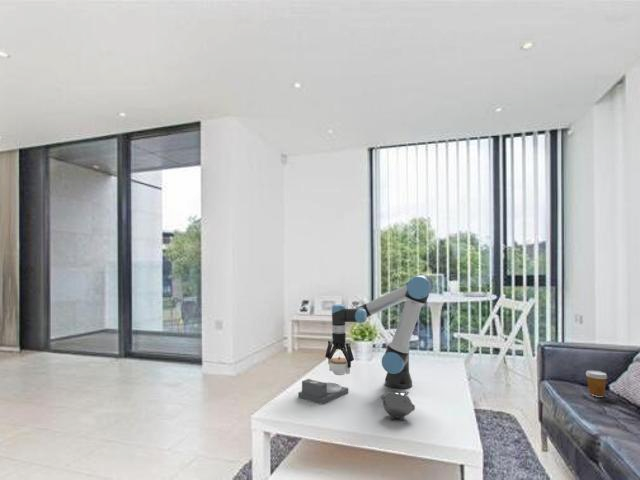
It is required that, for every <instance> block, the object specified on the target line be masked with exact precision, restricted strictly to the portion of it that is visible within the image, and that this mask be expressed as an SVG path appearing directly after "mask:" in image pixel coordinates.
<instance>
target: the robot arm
mask: <svg viewBox="0 0 640 480" xmlns="http://www.w3.org/2000/svg"><path fill="white" fill-rule="evenodd" d="M404 284H405V285H403V286H401V287H399V288H396V289H394V290H392V291H390V292H388V293H385V294H384V295H382V296H379V297H377V298H375V299H372V300H371V301H369V302H366V303H365V304H362V305H359V306H358V307H355V308H346V305H345V304H334V305H332V306H331V324H332V325H331V326H332V327H331V331H332V333H331V334H332V335H331V338H332V339H331V340H328V341H327V347H326V351H325V352H326V353H325V356H324V357H325V358H327V360H328V361H327V362H328V365H329V369H328V370H329V371H330V372H332V370H331V367H330V359H332V358H334V357H333V356H334V355H335V352H336V351H337V350H340V351H341V352H342V354H343V356H344V358H346V360H347V362H346V373H345V375H348V374H351V368H352V362H353V361H355V357H354V355H353V352H352V351H353V350H352V348H351V342H346V337H347V336H346V332H347V331H346V323H358V324H361V323H362V324H364V323H366V321H367V318H369V317H371V316H373V315H376V314H379V313H380V312H382V311H384V310H387V309H389V308H391V307H394V306H395V305H398V304H401V303H403V302H404V301H405V302H404V306H403V308H402V312H401V315H400V317H399V321H398V323H397V326H396V329H395V332H394V335H393V337H392V341H391V342H389V343H388V344H387V346H386V349H385V352H384V354H383V356H382V357H381V366H382V368H383V369H384V370H385V372H386V376H385V379H384V385H385V386H387V387H389V388H391V389H392V388H394V389H401V390H402V389H403V390H404V389H409V388H412V386H413V380H412V377H411V373H410V346H409V344H410V341H411V339H412V335H413V334H414V333H413V332H414V329H415V328H416V324H417V321H418V319H419V315H420V312H421V310H422V307H423V306H424V305H426V304H427V301H428V299H429V296H430V293H431V292H432V291H433V287H434V285H433V281H432V279H431V278H430V276H427V275H425V274H416V275H415V276H412V277H411V278H410V279H409V280H408V281H407V282H406V283H404Z"/></svg>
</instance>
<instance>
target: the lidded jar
mask: <svg viewBox="0 0 640 480" xmlns="http://www.w3.org/2000/svg"><path fill="white" fill-rule="evenodd" d="M346 362H347V360H346V358H345V357H341V356H338V357H333V358H331V359H330V367H331V370H332V371H331V372H332V373H333V374H334V375H336V376H345V375H346Z"/></svg>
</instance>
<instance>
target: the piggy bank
mask: <svg viewBox="0 0 640 480" xmlns="http://www.w3.org/2000/svg"><path fill="white" fill-rule="evenodd" d="M380 399H381V401H382V405H383V409H384V411H385V413H386V415H388V416H389V420H390V421H393V420H395V418H399V420H400V421H401V422H404V421H405V417H408V415H410V414H412V412H414V411H415V409H416V405H415V404H413V402H412V400H411V398H410V397H409V391H395V390H393V391H389V392H387V393H386V394H383V395H381V396H380Z"/></svg>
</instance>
